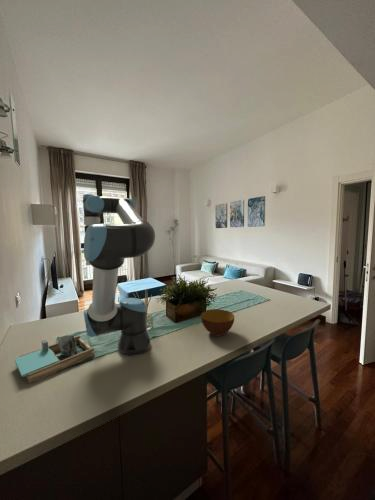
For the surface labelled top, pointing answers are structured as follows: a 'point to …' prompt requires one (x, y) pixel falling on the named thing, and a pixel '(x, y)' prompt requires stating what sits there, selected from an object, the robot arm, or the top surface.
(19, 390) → the top surface
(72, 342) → the stone
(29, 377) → the wooden box
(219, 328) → the bowl
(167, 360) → the top surface
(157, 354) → the top surface
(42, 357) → the lid
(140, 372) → the top surface
